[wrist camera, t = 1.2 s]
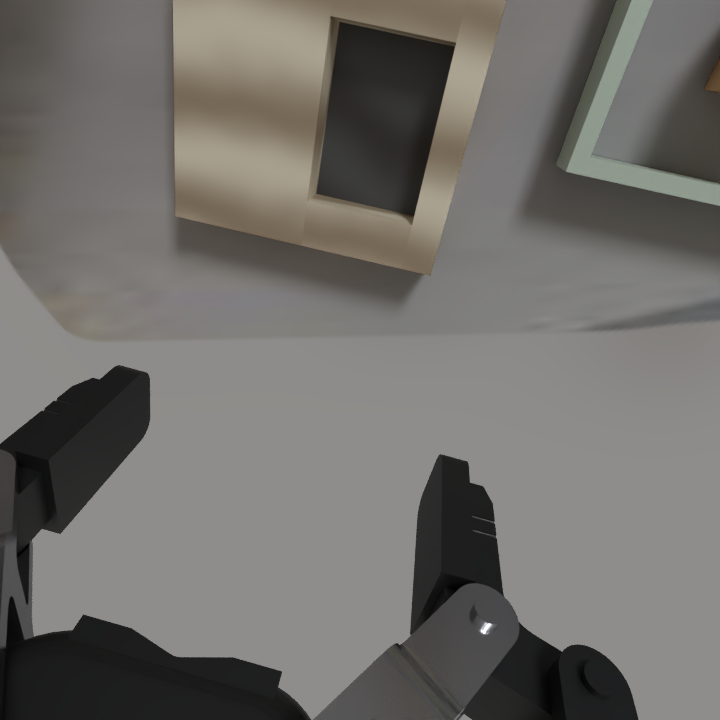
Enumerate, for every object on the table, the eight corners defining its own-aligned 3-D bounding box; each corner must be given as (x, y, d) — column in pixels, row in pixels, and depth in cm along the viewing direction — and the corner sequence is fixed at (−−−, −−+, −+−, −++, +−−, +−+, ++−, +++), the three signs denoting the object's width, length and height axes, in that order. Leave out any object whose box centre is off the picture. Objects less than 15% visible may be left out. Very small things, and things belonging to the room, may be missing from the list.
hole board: (197, -73, 28) (172, -90, 25) (505, -9, 27) (511, -19, 24) (194, 207, 36) (175, 216, 33) (431, 262, 35) (430, 275, 32)
